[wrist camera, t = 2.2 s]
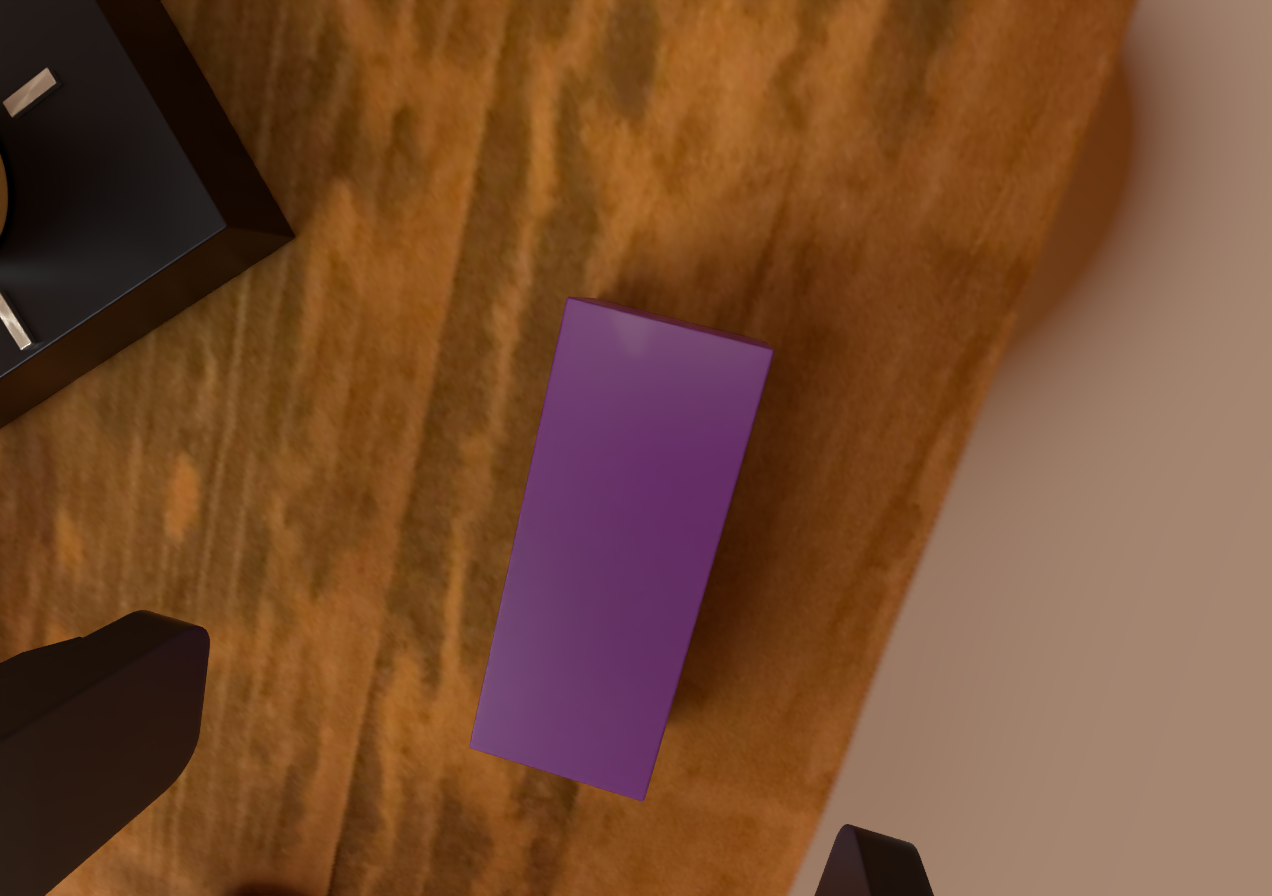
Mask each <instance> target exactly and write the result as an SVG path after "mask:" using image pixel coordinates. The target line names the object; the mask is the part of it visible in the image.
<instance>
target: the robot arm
mask: <svg viewBox="0 0 1272 896" xmlns="http://www.w3.org/2000/svg"><path fill="white" fill-rule="evenodd" d="M209 649H210V639H209V635H208V632H207V631H206V629H204V628H203V627H200V626H197V625H194V624H190V623H187V622H184V621H180V620H177V619H174V618H170V617H167V616H164V615H160V614H157V613H154V612H151V611H147V610H140V611H135V612H133V613H130V614H128V615H126V616H124V617H122V618H120V619H119V620H117V621H115V622H113V623H111V624H109V625H107V626H105V627H103V628H101V629H99V630H97V631H95V632H93V633H91V634H89V635H88V636H86V637H84V638H82V637H77V638H73V639H70V640H66V641H62V642H59V643H55V644H52V645H48V646H44V647H41V648H37V649H33V650H30V651H26V652H23V653H20V654H18V655H16V656H14V657H12V658H10V659H8V660H6V661H4V662H2V663H0V896H45V895H46V894H47V893H48V892H49V891H51V890H52V889H53V888H54V887H55V886H56V885H57V884H59V883H60V882H61V881H62V880H63V879H64V878H66V877H67V876H68V875H69V874H70V873H71V872H72V871H74V870H75V869H76V868H77V867H78V866H79V865H81V864H82V863H83V862H84V861H85V860H86V859H87V858H89V857H90V856H91V855H92V854H93V853H94V852H96V851H97V850H98V849H99V848H100V847H101V846H102V845H104V844H105V843H106V842H107V841H108V840H109V839H111V838H112V837H113V836H114V835H115V834H116V833H117V832H119V831H120V830H121V829H122V828H123V827H124V826H126V825H127V824H128V823H129V822H130V821H131V820H132V819H134V818H135V817H136V816H137V815H138V814H139V813H141V812H142V811H143V810H144V809H145V808H146V807H148V806H149V805H150V804H151V803H152V802H153V801H154V800H156V799H157V798H158V797H159V796H160V795H161V794H163V793H164V792H165V791H166V790H167V789H168V788H169V787H170V786H171V785H172V784H173V783H174V782H175V781H176V780H177V778H178V777H179V776H180V774H181V773H182V772H183V770H184V769H185V767H186V766H187V764H188V762H189V760H190V759H191V756H192V754H193V752H194V750H195V747H196V745H197V742H198V738H199V733H200V726H201V717H202V709H203V700H204V692H205V683H206V675H207V666H208V658H209ZM815 896H934V895H933V892H932V889H931V886H930V883H929V880H928V878H927V875H926V872H925V869H924V866H923V864H922V861H921V858H920V856H919V853H918V851H917V849H916V848H915V846H914V845H913V844H911V843H909V842H906V841H902V840H899V839H895V838H893V837H889V836H886V835H882V834H879V833H876V832H872V831H869V830H866V829H863V828H859V827H856V826H853V825H849V824H846V825H844V826H843V827H842V828H841V829H840V831H839V833H838V835H837V837H836V839H835V842H834V844H833V847H832V850H831V853H830V855H829V858H828V861H827V864H826V866H825V869H824V872H823V874H822V877H821V880H820V882H819V886H818V888H817V891H816V893H815Z"/></svg>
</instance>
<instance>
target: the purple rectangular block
mask: <svg viewBox="0 0 1272 896" xmlns="http://www.w3.org/2000/svg"><path fill="white" fill-rule="evenodd" d="M773 355H774V349H773V348H772V347H771V346H770V345H769V344H768V343H766V342H764V341H760V340H756V339H752V338H748V337H744V336H740V335H736V334H732V333H728V332H725V331H721V330H717V329H713V328H709V327H705V326H701V325H697V324H693V323H689V322H685V321H681V320H677V319H674V318H670V317H666V316H662V315H658V314H654V313H650V312H646V311H642V310H638V309H634V308H630V307H627V306H623V305H619V304H615V303H611V302H607V301H603V300H599V299H595V298H581V297H568V298H567V300H566V305H565V309H564V314H563V318H562V323H561V328H560V332H559V337H558V341H557V346H556V351H555V355H554V360H553V364H552V369H551V374H550V378H549V383H548V387H547V392H546V397H545V401H544V406H543V410H542V415H541V419H540V424H539V429H538V433H537V438H536V442H535V447H534V452H533V456H532V461H531V465H530V470H529V475H528V479H527V484H526V488H525V493H524V498H523V502H522V507H521V511H520V516H519V521H518V525H517V530H516V534H515V539H514V544H513V548H512V553H511V557H510V562H509V567H508V571H507V576H506V580H505V585H504V590H503V594H502V599H501V603H500V608H499V613H498V617H497V622H496V626H495V631H494V635H493V640H492V645H491V649H490V654H489V658H488V663H487V668H486V672H485V677H484V681H483V686H482V691H481V695H480V700H479V704H478V709H477V714H476V718H475V723H474V727H473V732H472V737H471V741H470V748H472V749H475V750H478V751H481V752H485V753H488V754H491V755H494V756H497V757H501V758H504V759H507V760H510V761H514V762H517V763H520V764H523V765H526V766H530V767H533V768H536V769H539V770H543V771H546V772H549V773H552V774H555V775H559V776H562V777H565V778H568V779H572V780H575V781H578V782H581V783H584V784H588V785H591V786H594V787H597V788H601V789H604V790H607V791H610V792H613V793H617V794H620V795H623V796H626V797H630V798H633V799H636V800H639V801H644V800H645V797H646V793H647V790H648V786H649V783H650V779H651V776H652V772H653V769H654V765H655V762H656V759H657V755H658V752H659V748H660V745H661V741H662V738H663V734H664V731H665V728H666V724H667V721H668V717H669V714H670V710H671V707H672V703H673V700H674V696H675V693H676V690H677V686H678V683H679V679H680V676H681V672H682V669H683V665H684V662H685V659H686V655H687V652H688V648H689V645H690V641H691V638H692V634H693V631H694V627H695V624H696V621H697V617H698V614H699V610H700V607H701V603H702V600H703V596H704V593H705V589H706V586H707V583H708V579H709V576H710V572H711V569H712V565H713V562H714V558H715V555H716V552H717V548H718V545H719V541H720V538H721V534H722V531H723V527H724V524H725V520H726V517H727V514H728V510H729V507H730V503H731V500H732V496H733V493H734V489H735V486H736V483H737V479H738V476H739V472H740V469H741V465H742V462H743V458H744V455H745V451H746V448H747V445H748V441H749V438H750V434H751V431H752V427H753V424H754V420H755V417H756V413H757V410H758V407H759V403H760V400H761V396H762V393H763V389H764V386H765V382H766V379H767V376H768V372H769V369H770V365H771V362H772V358H773Z"/></svg>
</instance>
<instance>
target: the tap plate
mask: <svg viewBox="0 0 1272 896" xmlns="http://www.w3.org/2000/svg"><path fill="white" fill-rule="evenodd" d="M0 154H1V157H2V160H3V164H4V167H5V172H6V177H7V185H8V210H7V217H6V221H5V225H4V228H3V231H2V234H1V236H0V428H1V427H3V426H4V425H6V424H7V423H9V422H11V421H12V420H14V419H15V418H17V417H18V416H20V415H21V414H23V413H24V412H26V411H28V410H29V409H31V408H32V407H34V406H35V405H37V404H38V403H40V402H41V401H43V400H45V399H46V398H48V397H49V396H51V395H52V394H54V393H55V392H57V391H58V390H60V389H62V388H63V387H65V386H66V385H68V384H69V383H71V382H72V381H74V380H75V379H77V378H79V377H80V376H82V375H83V374H85V373H86V372H88V371H89V370H91V369H92V368H94V367H96V366H97V365H99V364H100V363H102V362H103V361H105V360H106V359H108V358H109V357H111V356H113V355H114V354H116V353H117V352H119V351H120V350H122V349H123V348H125V347H126V346H128V345H129V344H131V343H133V342H134V341H136V340H137V339H139V338H140V337H142V336H143V335H145V334H146V333H148V332H150V331H151V330H153V329H154V328H156V327H157V326H159V325H160V324H162V323H163V322H165V321H167V320H168V319H170V318H171V317H173V316H174V315H176V314H177V313H179V312H180V311H182V310H184V309H185V308H187V307H188V306H190V305H191V304H193V303H194V302H196V301H197V300H199V299H201V298H202V297H204V296H205V295H207V294H208V293H210V292H211V291H213V290H214V289H216V288H218V287H219V286H221V285H222V284H224V283H225V282H227V281H228V280H230V279H231V278H233V277H235V276H236V275H238V274H239V273H241V272H242V271H244V270H245V269H247V268H248V267H250V266H252V265H253V264H255V263H256V262H258V261H259V260H261V259H262V258H264V257H265V256H267V255H269V254H270V253H272V252H273V251H275V250H276V249H278V248H279V247H281V246H282V245H284V244H286V243H287V242H289V241H290V240H292V239H293V238H294V234H293V233H292V231H291V229H290V227H289V226H288V224H287V222H286V220H285V219H284V217H283V215H282V214H281V212H280V210H279V208H278V207H277V205H276V203H275V201H274V200H273V198H272V196H271V194H270V193H269V191H268V189H267V187H266V186H265V184H264V182H263V180H262V179H261V177H260V175H259V173H258V172H257V170H256V168H255V167H254V165H253V163H252V161H251V160H250V158H249V156H248V154H247V153H246V151H245V149H244V147H243V146H242V144H241V142H240V140H239V139H238V137H237V135H236V133H235V132H234V130H233V128H232V126H231V125H230V123H229V121H228V120H227V118H226V116H225V114H224V113H223V111H222V109H221V107H220V106H219V104H218V102H217V100H216V99H215V97H214V95H213V93H212V92H211V90H210V88H209V86H208V85H207V83H206V81H205V79H204V78H203V76H202V74H201V73H200V71H199V69H198V67H197V66H196V64H195V62H194V60H193V59H192V57H191V55H190V53H189V52H188V50H187V48H186V46H185V45H184V43H183V41H182V39H181V38H180V36H179V34H178V32H177V31H176V29H175V27H174V25H173V24H172V22H171V20H170V19H169V17H168V15H167V13H166V12H165V10H164V8H163V6H162V5H161V3H160V1H159V0H0Z"/></svg>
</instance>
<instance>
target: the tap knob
mask: <svg viewBox="0 0 1272 896" xmlns="http://www.w3.org/2000/svg"><path fill="white" fill-rule="evenodd" d="M7 210H8V185H7V177H6V172H5V167H4V164H3V160H2V157H1V154H0V236H1V234H2V231H3V228H4V225H5V221H6V217H7Z"/></svg>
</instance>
